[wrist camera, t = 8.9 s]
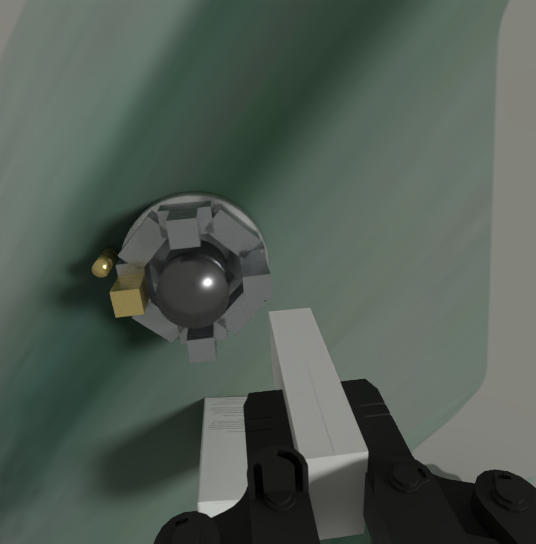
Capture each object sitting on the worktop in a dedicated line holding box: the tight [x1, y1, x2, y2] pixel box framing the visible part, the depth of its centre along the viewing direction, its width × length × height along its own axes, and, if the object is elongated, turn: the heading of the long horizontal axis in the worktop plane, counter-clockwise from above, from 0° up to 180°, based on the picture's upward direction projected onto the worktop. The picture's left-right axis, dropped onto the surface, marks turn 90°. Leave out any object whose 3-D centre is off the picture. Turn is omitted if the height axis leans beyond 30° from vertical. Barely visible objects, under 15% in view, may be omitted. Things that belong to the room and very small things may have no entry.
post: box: [92, 248, 118, 277], centre depth 42 cm, size 2×2×4 cm
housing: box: [122, 191, 269, 328], centre depth 41 cm, size 15×15×9 cm
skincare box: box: [197, 396, 248, 517], centre depth 47 cm, size 8×7×16 cm
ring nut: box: [110, 200, 272, 363], centre depth 40 cm, size 14×14×6 cm
